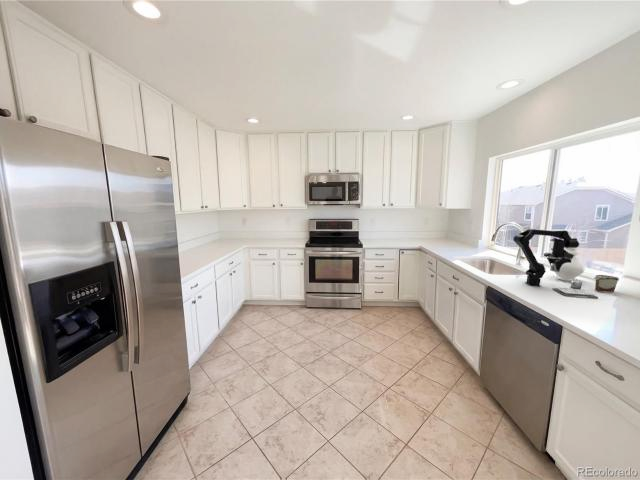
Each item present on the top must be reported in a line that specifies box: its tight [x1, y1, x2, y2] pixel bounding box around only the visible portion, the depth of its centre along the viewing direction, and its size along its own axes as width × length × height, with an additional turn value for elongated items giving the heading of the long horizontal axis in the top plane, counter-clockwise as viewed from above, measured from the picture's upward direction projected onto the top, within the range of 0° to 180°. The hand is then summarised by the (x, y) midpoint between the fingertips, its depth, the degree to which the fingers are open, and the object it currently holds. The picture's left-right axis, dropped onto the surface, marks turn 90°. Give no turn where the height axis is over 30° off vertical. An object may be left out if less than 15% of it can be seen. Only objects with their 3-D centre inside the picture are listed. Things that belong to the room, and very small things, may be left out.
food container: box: [593, 274, 620, 293], centre depth 163 cm, size 12×6×10 cm, turn 84°
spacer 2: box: [569, 280, 583, 289], centre depth 167 cm, size 5×5×5 cm
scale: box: [551, 287, 599, 300], centre depth 158 cm, size 17×12×1 cm
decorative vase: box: [553, 246, 586, 282], centre depth 185 cm, size 18×18×25 cm
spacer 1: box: [549, 263, 560, 273], centre depth 172 cm, size 5×5×5 cm
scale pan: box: [555, 287, 596, 296], centre depth 158 cm, size 15×9×1 cm, turn 75°
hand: (555, 269), depth 172 cm, fingers closed on spacer 1, 5 cm apart
